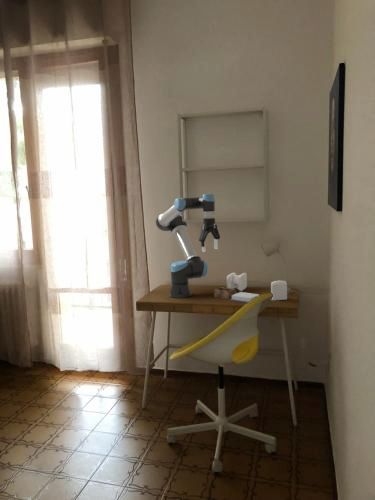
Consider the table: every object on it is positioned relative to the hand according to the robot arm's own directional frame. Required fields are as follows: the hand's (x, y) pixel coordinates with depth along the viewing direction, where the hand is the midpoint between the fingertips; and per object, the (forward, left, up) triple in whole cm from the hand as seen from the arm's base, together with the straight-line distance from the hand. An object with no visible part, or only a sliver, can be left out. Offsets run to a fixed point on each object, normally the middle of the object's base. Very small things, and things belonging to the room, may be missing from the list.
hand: (210, 250), depth 269 cm
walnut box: (+6, +7, -32) cm, 33 cm away
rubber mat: (+22, +7, -32) cm, 39 cm away
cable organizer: (+2, +28, -32) cm, 43 cm away
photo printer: (+40, +18, -32) cm, 54 cm away
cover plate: (+22, +7, -31) cm, 39 cm away
